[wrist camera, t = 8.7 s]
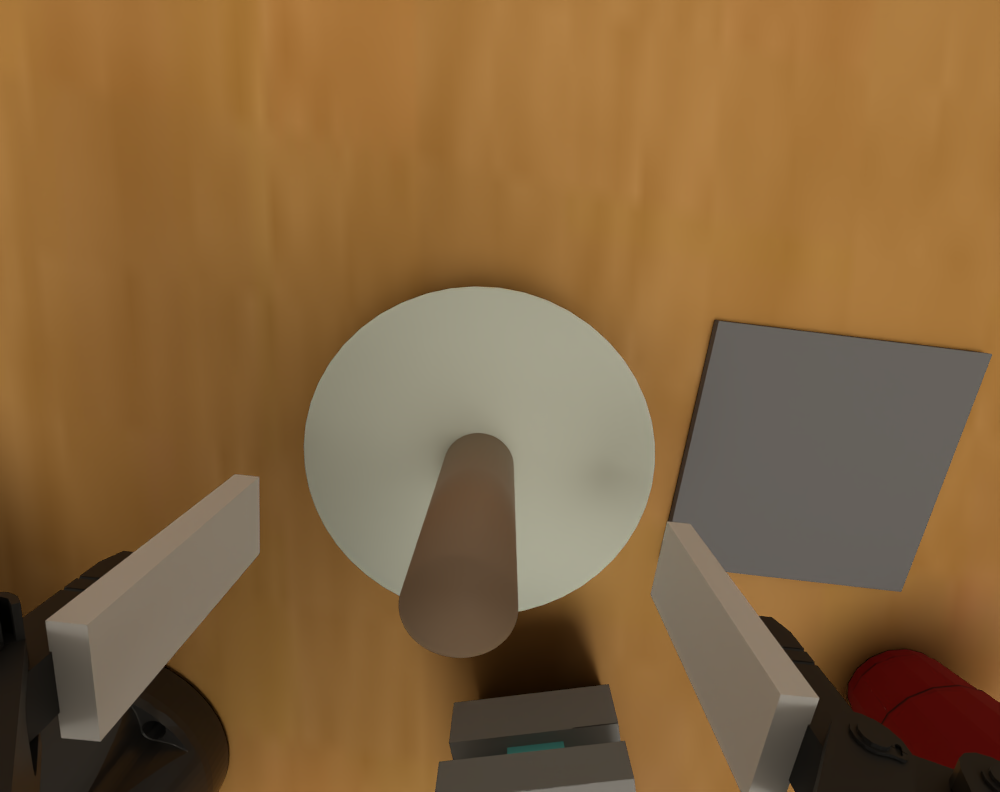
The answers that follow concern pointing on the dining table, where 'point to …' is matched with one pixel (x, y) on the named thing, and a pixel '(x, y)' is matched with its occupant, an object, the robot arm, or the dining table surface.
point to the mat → (821, 451)
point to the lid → (478, 459)
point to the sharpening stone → (537, 744)
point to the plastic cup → (926, 706)
